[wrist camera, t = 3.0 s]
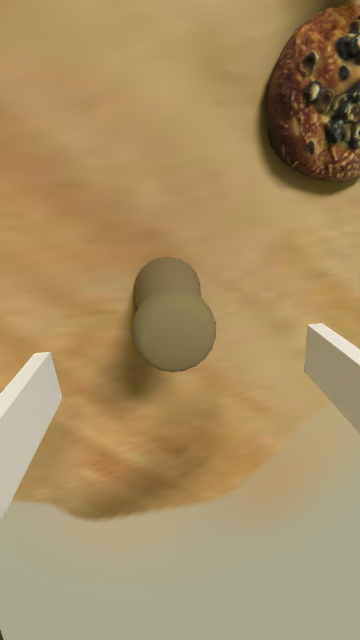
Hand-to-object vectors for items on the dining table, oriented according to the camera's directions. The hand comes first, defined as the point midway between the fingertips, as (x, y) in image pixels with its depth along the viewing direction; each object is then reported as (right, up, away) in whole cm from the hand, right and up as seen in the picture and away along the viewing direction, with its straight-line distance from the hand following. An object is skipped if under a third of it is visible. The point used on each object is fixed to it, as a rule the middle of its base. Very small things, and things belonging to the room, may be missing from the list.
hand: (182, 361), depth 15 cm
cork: (-1, +5, +12) cm, 13 cm away
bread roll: (+12, +19, +8) cm, 24 cm away
